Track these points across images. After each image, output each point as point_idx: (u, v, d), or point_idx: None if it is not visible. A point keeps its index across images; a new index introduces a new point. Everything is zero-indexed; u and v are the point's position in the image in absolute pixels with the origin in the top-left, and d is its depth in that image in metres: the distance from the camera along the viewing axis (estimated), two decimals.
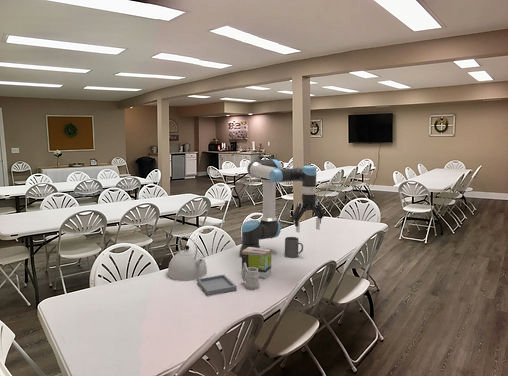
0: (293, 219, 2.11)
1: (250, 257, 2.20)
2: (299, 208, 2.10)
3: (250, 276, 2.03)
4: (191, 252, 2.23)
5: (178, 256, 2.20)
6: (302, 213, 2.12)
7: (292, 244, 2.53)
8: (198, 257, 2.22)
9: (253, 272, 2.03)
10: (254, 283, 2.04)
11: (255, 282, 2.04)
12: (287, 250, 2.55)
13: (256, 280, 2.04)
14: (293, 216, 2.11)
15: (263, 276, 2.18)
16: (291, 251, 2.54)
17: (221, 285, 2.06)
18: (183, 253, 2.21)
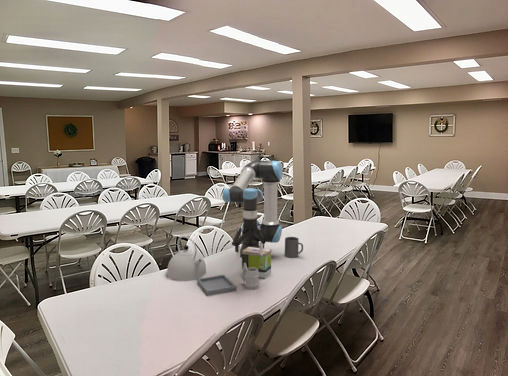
0: (233, 245, 2.00)
1: (250, 257, 2.20)
2: (239, 233, 2.00)
3: (250, 276, 2.03)
4: (190, 252, 2.22)
5: (177, 256, 2.20)
6: (242, 238, 2.01)
7: (292, 244, 2.53)
8: (197, 257, 2.22)
9: (253, 272, 2.03)
10: (254, 283, 2.04)
11: (255, 282, 2.04)
12: (287, 250, 2.55)
13: (256, 280, 2.04)
14: (233, 241, 2.01)
15: (263, 276, 2.18)
16: (291, 251, 2.54)
17: (221, 285, 2.06)
18: (182, 253, 2.21)
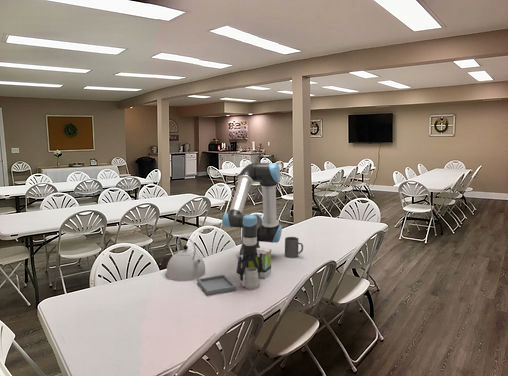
0: (238, 273, 2.04)
1: None
2: (240, 261, 2.03)
3: (249, 276, 2.03)
4: (189, 252, 2.22)
5: (176, 256, 2.20)
6: (245, 266, 2.04)
7: (292, 244, 2.53)
8: (196, 257, 2.21)
9: (252, 272, 2.02)
10: (253, 283, 2.03)
11: (254, 282, 2.04)
12: (287, 250, 2.55)
13: (255, 280, 2.04)
14: (237, 270, 2.04)
15: (263, 276, 2.18)
16: (291, 251, 2.54)
17: (221, 285, 2.06)
18: (181, 253, 2.21)
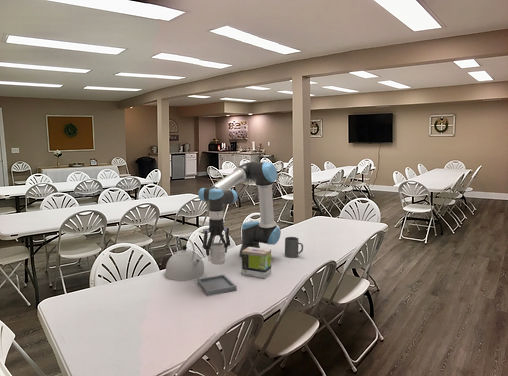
0: None
1: (250, 257, 2.20)
2: (206, 236, 1.99)
3: (215, 251, 1.98)
4: (188, 252, 2.22)
5: (175, 256, 2.20)
6: (211, 240, 2.00)
7: (292, 244, 2.53)
8: (195, 257, 2.21)
9: (218, 247, 1.98)
10: (219, 258, 1.99)
11: (220, 257, 1.99)
12: (287, 250, 2.55)
13: (221, 255, 2.00)
14: (203, 245, 2.00)
15: (263, 276, 2.18)
16: (291, 251, 2.54)
17: (221, 285, 2.06)
18: (180, 253, 2.21)
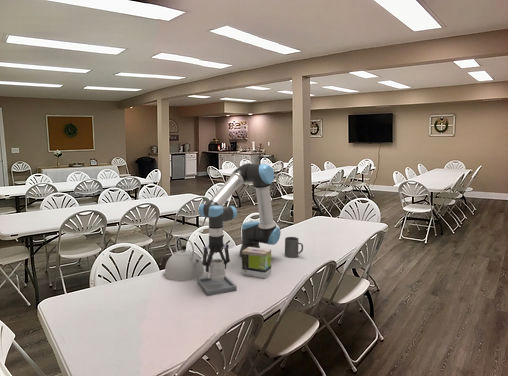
0: None
1: (250, 257, 2.20)
2: (206, 253, 2.00)
3: (215, 268, 2.00)
4: (188, 252, 2.22)
5: (175, 256, 2.20)
6: (211, 257, 2.02)
7: (292, 244, 2.53)
8: (195, 257, 2.21)
9: (218, 264, 2.00)
10: (219, 275, 2.00)
11: (220, 274, 2.01)
12: (287, 250, 2.55)
13: (221, 272, 2.01)
14: (202, 262, 2.02)
15: (263, 276, 2.18)
16: (291, 251, 2.54)
17: (221, 285, 2.06)
18: (180, 253, 2.20)
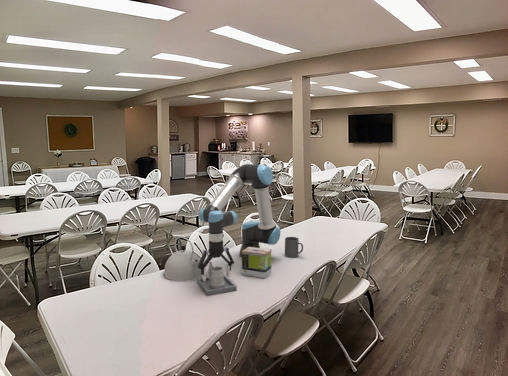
0: None
1: (250, 257, 2.20)
2: (204, 256, 2.00)
3: (214, 276, 2.00)
4: (187, 252, 2.22)
5: (174, 256, 2.19)
6: (208, 261, 2.01)
7: (292, 244, 2.53)
8: (194, 258, 2.21)
9: (217, 272, 2.00)
10: (219, 283, 2.01)
11: (220, 281, 2.01)
12: (287, 250, 2.55)
13: (221, 279, 2.02)
14: (198, 264, 2.01)
15: (263, 276, 2.18)
16: (291, 251, 2.54)
17: None
18: (179, 253, 2.20)
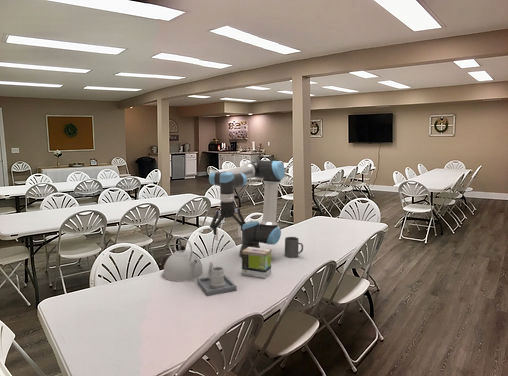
0: (210, 227, 2.06)
1: (250, 257, 2.20)
2: (216, 216, 2.05)
3: (215, 275, 2.01)
4: (186, 253, 2.21)
5: (173, 257, 2.19)
6: (220, 221, 2.07)
7: (292, 244, 2.53)
8: (193, 258, 2.20)
9: (218, 272, 2.00)
10: (219, 283, 2.01)
11: (220, 282, 2.01)
12: (287, 250, 2.55)
13: (221, 280, 2.02)
14: (211, 224, 2.06)
15: (263, 276, 2.18)
16: (291, 251, 2.54)
17: None
18: (178, 254, 2.20)
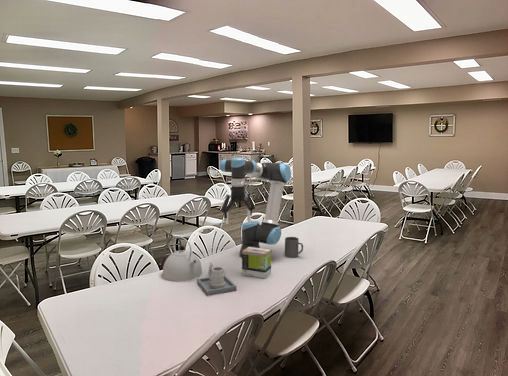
0: None
1: (250, 257, 2.20)
2: (227, 200, 2.12)
3: (215, 275, 2.01)
4: (186, 253, 2.21)
5: (172, 257, 2.19)
6: (231, 205, 2.13)
7: (292, 244, 2.53)
8: (193, 258, 2.20)
9: (218, 272, 2.00)
10: (219, 283, 2.01)
11: (220, 282, 2.01)
12: (287, 250, 2.55)
13: (221, 280, 2.02)
14: (221, 208, 2.13)
15: (263, 276, 2.18)
16: (291, 251, 2.54)
17: None
18: (178, 254, 2.20)
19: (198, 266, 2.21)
